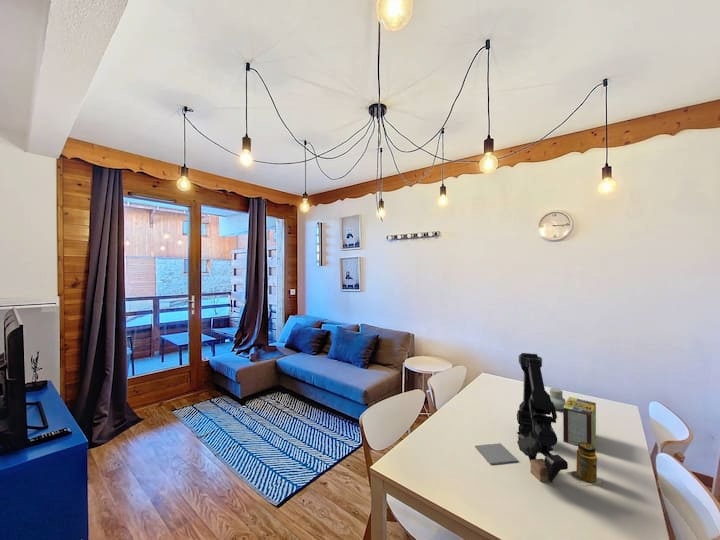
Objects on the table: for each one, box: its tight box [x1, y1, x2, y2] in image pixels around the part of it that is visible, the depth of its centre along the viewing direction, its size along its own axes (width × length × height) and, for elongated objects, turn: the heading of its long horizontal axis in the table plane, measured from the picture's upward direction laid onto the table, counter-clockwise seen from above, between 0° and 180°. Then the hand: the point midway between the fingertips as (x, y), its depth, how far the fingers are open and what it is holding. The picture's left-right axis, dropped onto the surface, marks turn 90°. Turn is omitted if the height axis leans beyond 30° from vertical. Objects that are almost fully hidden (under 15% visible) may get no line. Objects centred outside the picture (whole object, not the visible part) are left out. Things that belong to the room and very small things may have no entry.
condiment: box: [565, 442, 603, 487], centre depth 113 cm, size 7×8×12 cm
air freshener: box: [549, 387, 566, 411], centre depth 169 cm, size 11×8×10 cm
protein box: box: [562, 396, 597, 447], centre depth 138 cm, size 10×15×16 cm
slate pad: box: [474, 442, 519, 466], centre depth 127 cm, size 12×12×1 cm
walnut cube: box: [530, 458, 549, 483], centre depth 114 cm, size 5×5×5 cm
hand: (541, 473), depth 114 cm, fingers open, 9 cm apart
